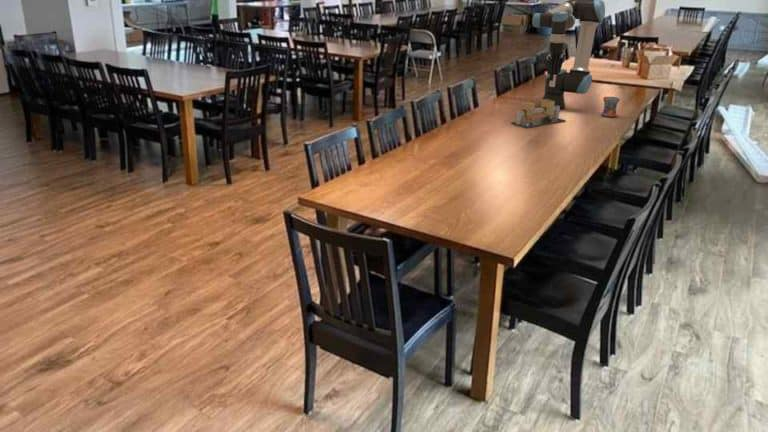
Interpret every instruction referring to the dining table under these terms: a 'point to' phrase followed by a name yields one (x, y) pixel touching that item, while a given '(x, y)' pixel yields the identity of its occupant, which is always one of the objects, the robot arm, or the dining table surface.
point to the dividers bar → (530, 108)
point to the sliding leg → (547, 107)
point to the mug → (610, 106)
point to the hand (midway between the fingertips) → (551, 86)
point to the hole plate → (539, 122)
